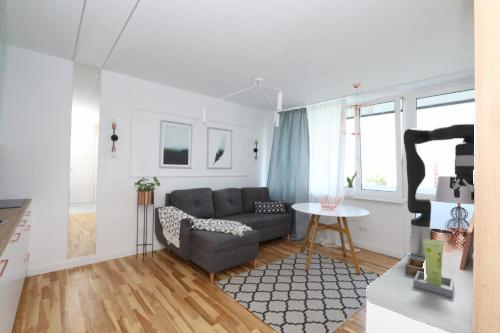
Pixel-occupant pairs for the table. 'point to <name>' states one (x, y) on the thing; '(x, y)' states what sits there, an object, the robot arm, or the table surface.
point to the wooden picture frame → (414, 266)
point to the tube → (433, 260)
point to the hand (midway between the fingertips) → (465, 198)
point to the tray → (444, 289)
